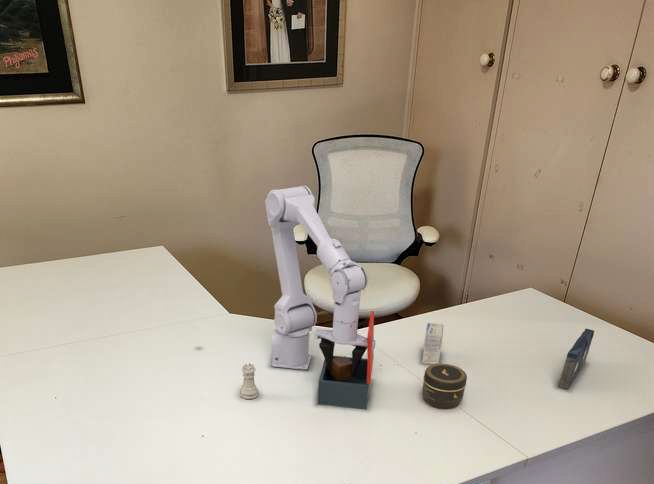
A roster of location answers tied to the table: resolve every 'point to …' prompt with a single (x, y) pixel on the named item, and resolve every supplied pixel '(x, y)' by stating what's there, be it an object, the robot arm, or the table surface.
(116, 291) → the table surface
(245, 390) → the rook chess piece
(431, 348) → the medicine box
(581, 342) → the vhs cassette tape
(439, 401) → the jar
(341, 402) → the dark grey open box
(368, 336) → the lid
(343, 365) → the block
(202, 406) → the table surface
